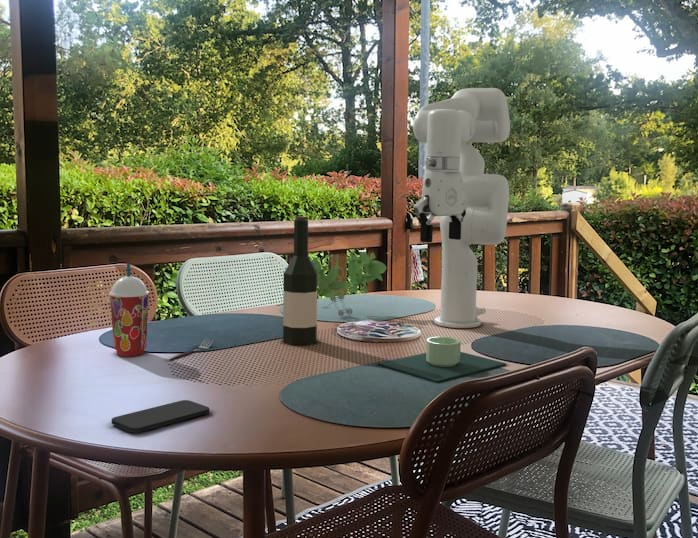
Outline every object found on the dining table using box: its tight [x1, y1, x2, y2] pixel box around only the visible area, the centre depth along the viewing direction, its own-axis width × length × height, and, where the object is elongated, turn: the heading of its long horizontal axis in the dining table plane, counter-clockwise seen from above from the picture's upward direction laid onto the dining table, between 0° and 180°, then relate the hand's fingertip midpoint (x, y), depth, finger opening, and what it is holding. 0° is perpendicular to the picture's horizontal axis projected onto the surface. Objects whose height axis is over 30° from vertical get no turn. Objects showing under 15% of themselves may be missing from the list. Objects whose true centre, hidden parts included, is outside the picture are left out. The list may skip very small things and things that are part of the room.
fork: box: [169, 337, 215, 361], centre depth 168 cm, size 3×16×2 cm, turn 159°
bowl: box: [425, 336, 462, 367], centre depth 161 cm, size 7×7×5 cm
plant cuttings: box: [276, 251, 387, 319], centre depth 213 cm, size 35×17×22 cm
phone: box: [111, 399, 210, 433], centre depth 123 cm, size 7×1×15 cm
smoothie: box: [108, 263, 150, 357], centre depth 165 cm, size 8×8×20 cm
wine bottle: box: [282, 215, 318, 346], centre depth 179 cm, size 8×8×30 cm
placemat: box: [377, 351, 507, 383], centre depth 162 cm, size 22×17×1 cm
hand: (440, 240), depth 172 cm, fingers open, 9 cm apart
